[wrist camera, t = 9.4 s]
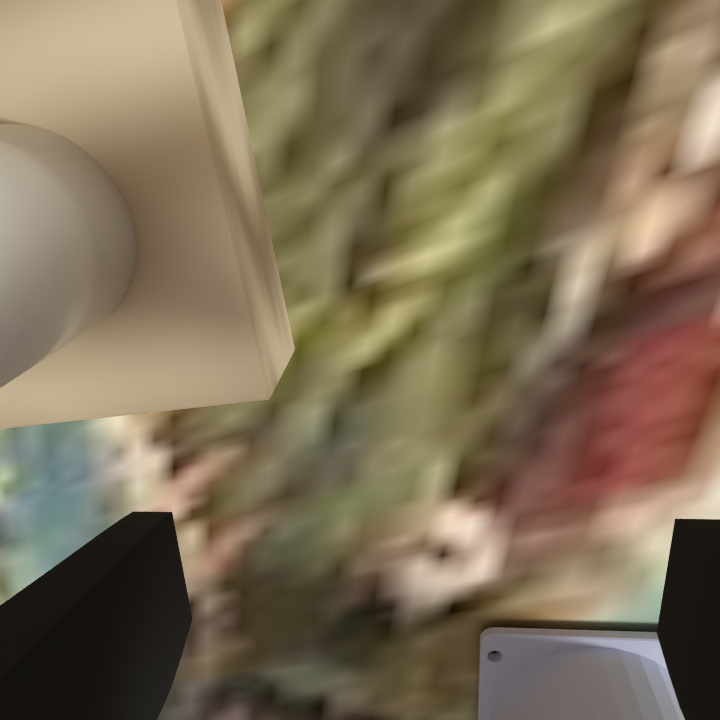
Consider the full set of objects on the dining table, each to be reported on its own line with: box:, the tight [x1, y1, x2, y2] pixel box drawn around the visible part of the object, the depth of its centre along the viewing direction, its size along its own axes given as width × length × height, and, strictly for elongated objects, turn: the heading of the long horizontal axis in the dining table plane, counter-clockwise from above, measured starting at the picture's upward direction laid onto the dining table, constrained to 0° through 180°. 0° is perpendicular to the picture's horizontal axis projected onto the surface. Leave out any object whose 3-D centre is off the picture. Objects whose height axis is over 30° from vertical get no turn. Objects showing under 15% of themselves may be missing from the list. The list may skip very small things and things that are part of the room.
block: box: [0, 0, 295, 429], centre depth 17 cm, size 10×10×4 cm
